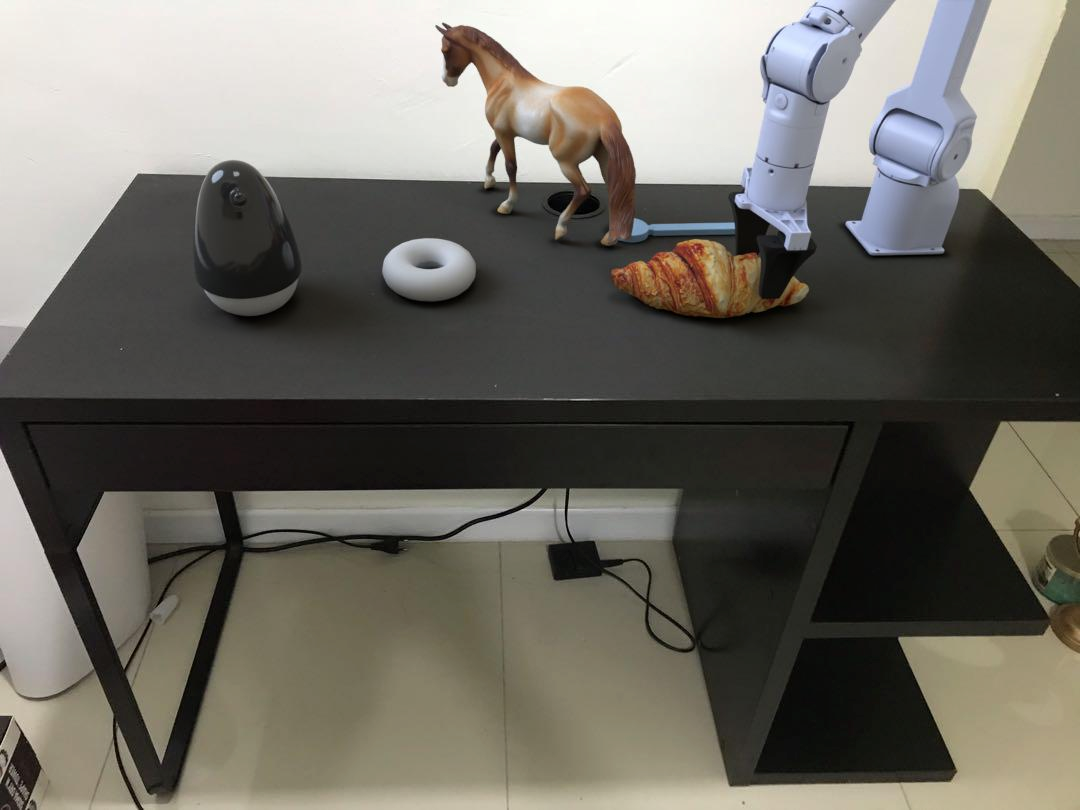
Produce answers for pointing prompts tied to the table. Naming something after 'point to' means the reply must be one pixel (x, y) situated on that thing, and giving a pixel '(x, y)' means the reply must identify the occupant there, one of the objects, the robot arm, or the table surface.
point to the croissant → (702, 281)
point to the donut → (429, 269)
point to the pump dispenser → (243, 242)
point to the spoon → (677, 230)
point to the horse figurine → (546, 126)
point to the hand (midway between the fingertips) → (757, 277)
